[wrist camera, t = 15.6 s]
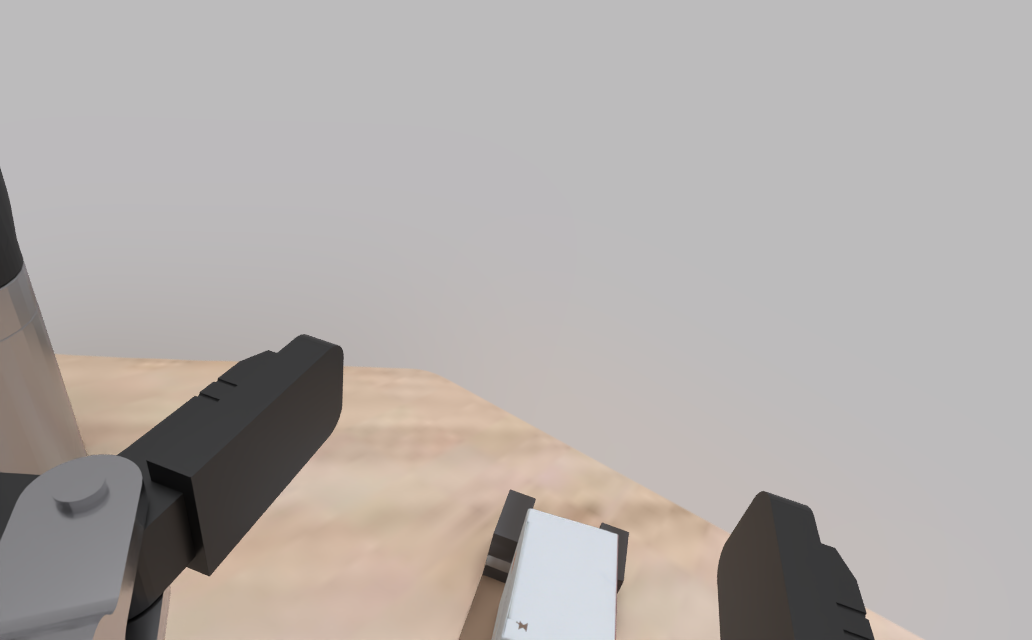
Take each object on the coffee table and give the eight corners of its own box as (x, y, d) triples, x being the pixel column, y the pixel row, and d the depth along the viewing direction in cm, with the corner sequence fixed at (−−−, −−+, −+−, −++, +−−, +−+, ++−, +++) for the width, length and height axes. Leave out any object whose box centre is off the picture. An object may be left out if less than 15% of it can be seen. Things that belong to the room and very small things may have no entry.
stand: (425, 733, 31) (437, 684, 28) (496, 537, 43) (510, 487, 40) (574, 798, 30) (604, 754, 27) (605, 578, 42) (629, 530, 39)
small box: (563, 767, 30) (617, 676, 25) (467, 736, 30) (499, 640, 25) (576, 627, 37) (621, 531, 31) (498, 603, 37) (529, 504, 32)
